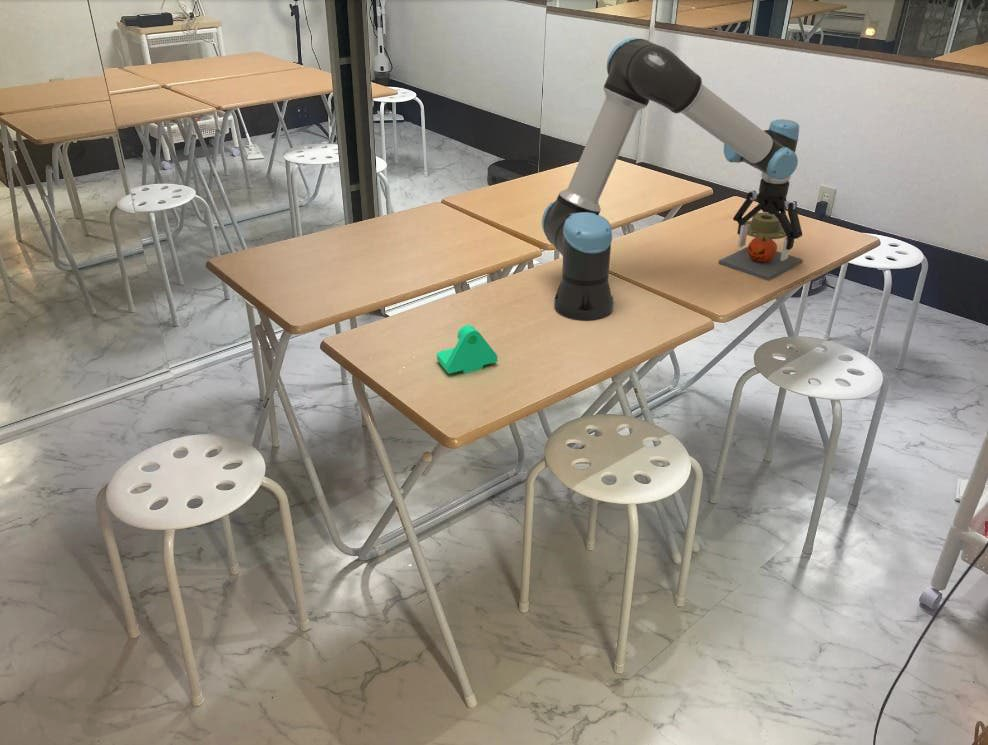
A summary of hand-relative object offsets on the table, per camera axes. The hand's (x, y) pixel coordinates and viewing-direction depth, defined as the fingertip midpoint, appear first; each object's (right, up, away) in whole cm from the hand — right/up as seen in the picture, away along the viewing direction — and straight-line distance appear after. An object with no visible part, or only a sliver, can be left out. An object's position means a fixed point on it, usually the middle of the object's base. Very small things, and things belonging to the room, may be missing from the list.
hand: (762, 252), depth 227 cm
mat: (0, -3, +2) cm, 3 cm away
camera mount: (-83, -32, -45) cm, 100 cm away
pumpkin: (0, -2, +1) cm, 2 cm away
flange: (+9, +10, +24) cm, 28 cm away
